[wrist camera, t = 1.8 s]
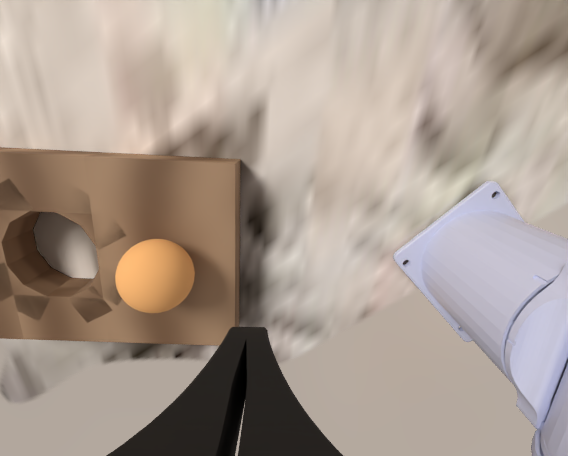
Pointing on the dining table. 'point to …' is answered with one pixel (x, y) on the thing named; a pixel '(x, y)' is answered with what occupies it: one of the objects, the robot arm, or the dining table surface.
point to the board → (118, 243)
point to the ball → (154, 276)
